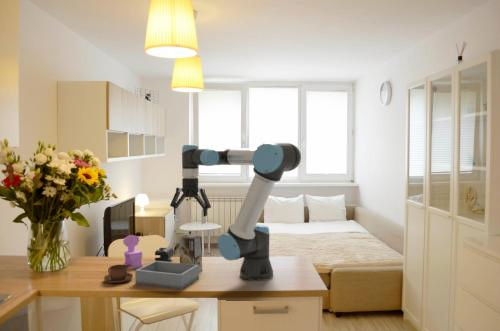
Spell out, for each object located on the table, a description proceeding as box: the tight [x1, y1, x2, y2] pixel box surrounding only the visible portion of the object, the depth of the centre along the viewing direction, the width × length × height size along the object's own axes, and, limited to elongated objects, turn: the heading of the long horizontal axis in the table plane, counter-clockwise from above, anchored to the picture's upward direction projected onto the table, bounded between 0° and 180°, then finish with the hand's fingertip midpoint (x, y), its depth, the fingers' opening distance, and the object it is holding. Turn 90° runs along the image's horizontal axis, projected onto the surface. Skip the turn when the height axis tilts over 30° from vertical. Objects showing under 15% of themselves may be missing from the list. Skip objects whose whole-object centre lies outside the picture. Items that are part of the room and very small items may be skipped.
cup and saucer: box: [103, 264, 134, 284], centre depth 182 cm, size 12×12×6 cm
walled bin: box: [134, 260, 200, 290], centre depth 181 cm, size 22×16×6 cm
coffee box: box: [178, 234, 203, 272], centre depth 197 cm, size 9×6×16 cm
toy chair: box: [122, 234, 143, 270], centre depth 204 cm, size 8×9×15 cm
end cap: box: [154, 246, 175, 262], centre depth 213 cm, size 10×7×7 cm
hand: (190, 222), depth 197 cm, fingers open, 13 cm apart
